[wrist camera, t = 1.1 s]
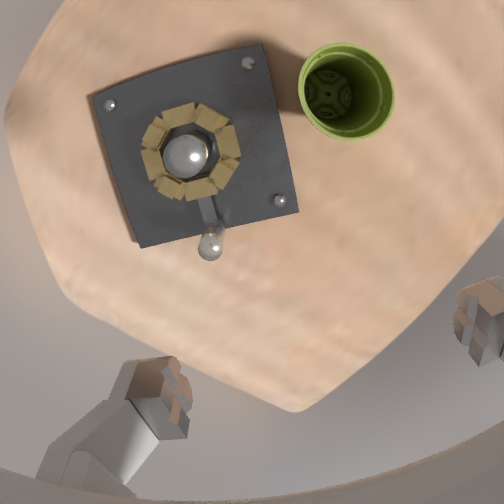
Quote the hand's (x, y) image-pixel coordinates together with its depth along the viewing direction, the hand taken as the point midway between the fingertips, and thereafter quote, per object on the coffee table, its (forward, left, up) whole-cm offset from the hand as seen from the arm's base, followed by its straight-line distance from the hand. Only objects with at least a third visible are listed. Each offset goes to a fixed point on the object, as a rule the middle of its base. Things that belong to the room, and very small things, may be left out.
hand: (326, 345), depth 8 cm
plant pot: (-6, +9, -31) cm, 33 cm away
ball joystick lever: (0, -7, -29) cm, 30 cm away
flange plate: (-3, -7, -31) cm, 32 cm away
